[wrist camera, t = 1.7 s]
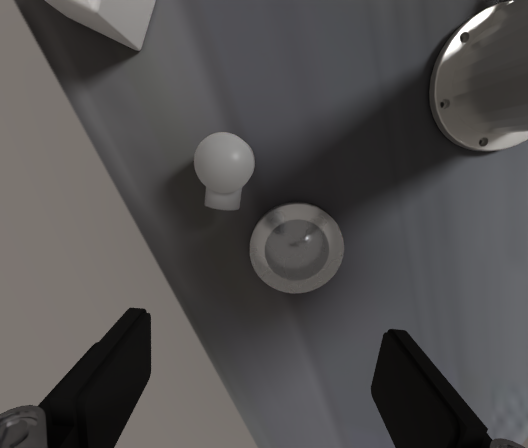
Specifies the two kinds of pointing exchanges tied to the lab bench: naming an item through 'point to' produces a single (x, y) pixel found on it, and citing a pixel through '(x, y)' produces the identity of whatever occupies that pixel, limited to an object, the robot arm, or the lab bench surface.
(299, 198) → the lab bench surface
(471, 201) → the lab bench surface
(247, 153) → the white light bulb
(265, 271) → the shallow grey dish
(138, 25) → the medicine bottle
